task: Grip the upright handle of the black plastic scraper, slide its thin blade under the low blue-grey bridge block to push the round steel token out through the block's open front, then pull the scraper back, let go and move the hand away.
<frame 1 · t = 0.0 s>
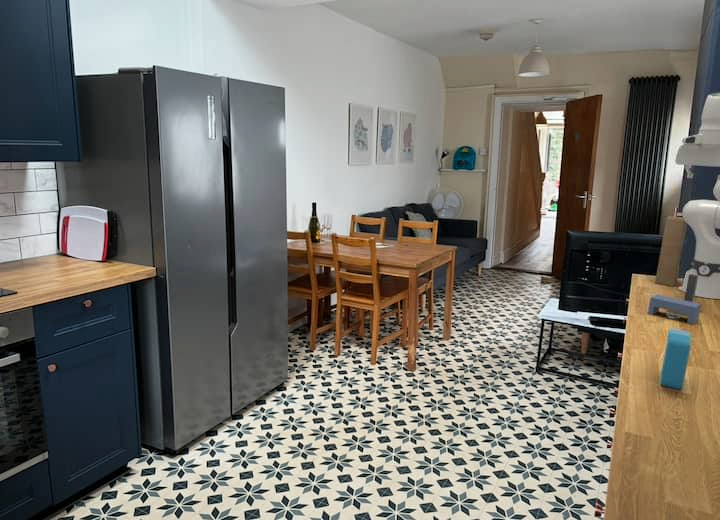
hand: (704, 179, 188), 48 cm above the countertop, tool pointing down, fingers open, 8 cm apart
decorative block: (666, 282, 237), on the countertop
steel token: (672, 318, 184), on the countertop
blue-grey bridge block: (672, 317, 184), on the countertop
scraper: (687, 308, 196), on the countertop
data package: (671, 381, 130), on the countertop
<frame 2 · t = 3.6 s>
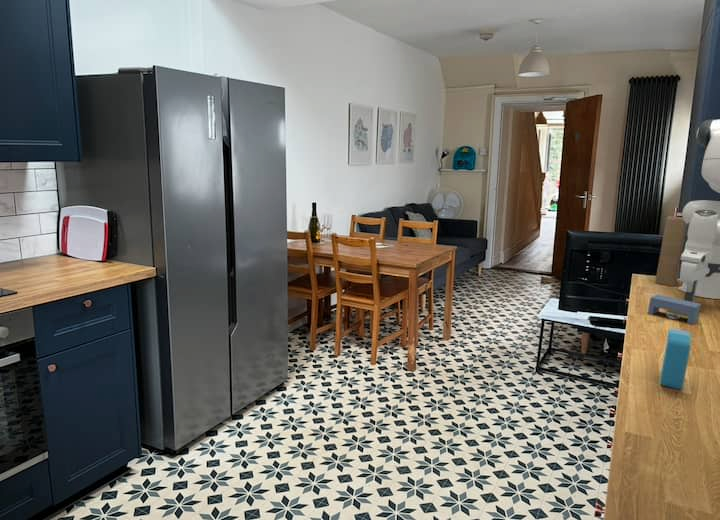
hand: (690, 290, 194), 7 cm above the countertop, tool pointing down, fingers closed on scraper, 2 cm apart
scraper: (687, 308, 196), on the countertop, touching gripper
everything else where it was.
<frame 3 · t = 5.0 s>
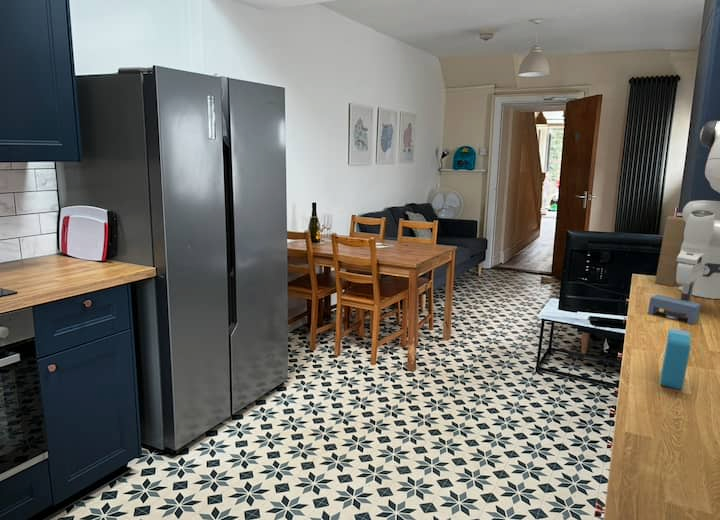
hand: (687, 292, 191), 7 cm above the countertop, tool pointing down, fingers closed on scraper, 2 cm apart
steel token: (671, 317, 183), on the countertop, touching scraper
scraper: (683, 310, 192), on the countertop, touching gripper, steel token
everything else where it was.
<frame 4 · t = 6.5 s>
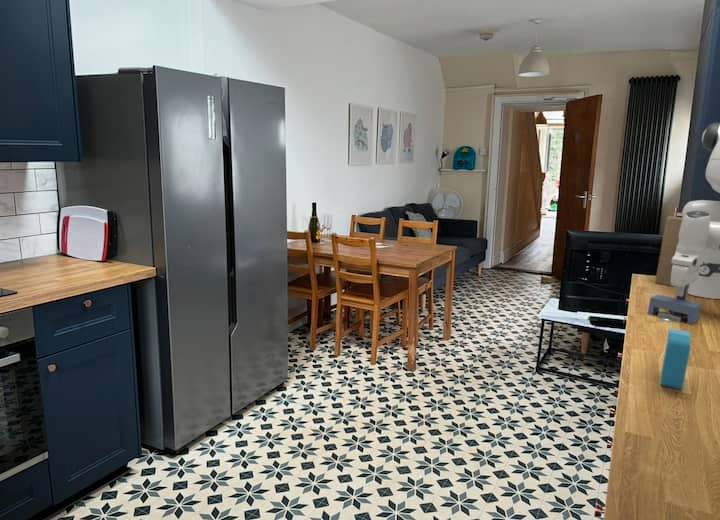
hand: (682, 295, 187), 7 cm above the countertop, tool pointing down, fingers closed on scraper, 2 cm apart
steel token: (666, 321, 180), on the countertop
scraper: (678, 313, 189), on the countertop, touching gripper
everything else where it was.
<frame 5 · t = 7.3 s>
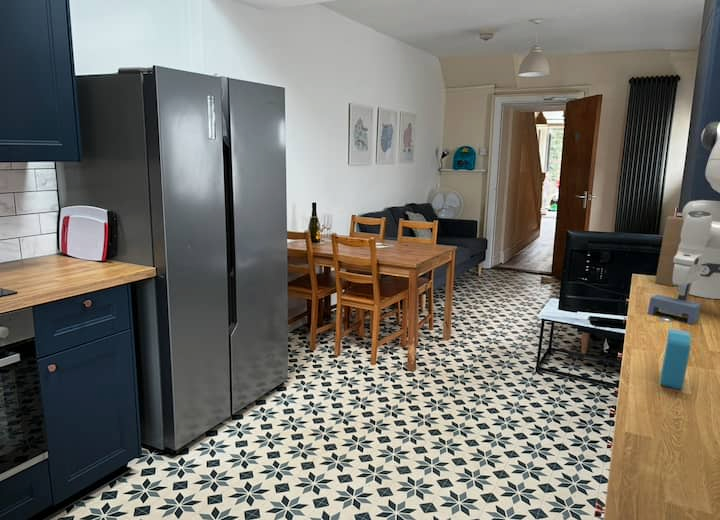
hand: (683, 294, 189), 7 cm above the countertop, tool pointing down, fingers closed on scraper, 3 cm apart
scraper: (679, 312, 190), on the countertop, tilted 7°, touching gripper
everything else where it was.
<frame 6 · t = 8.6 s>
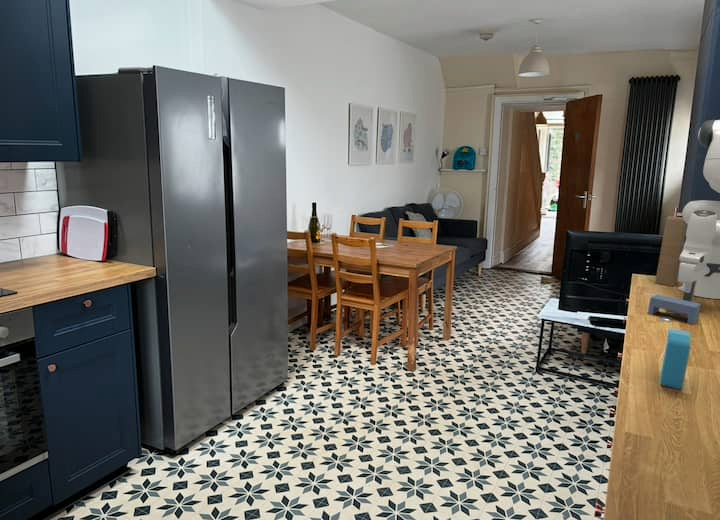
hand: (689, 291, 193), 7 cm above the countertop, tool pointing down, fingers closed on scraper, 2 cm apart
scraper: (685, 309, 194), on the countertop, touching gripper
everything else where it was.
when the fingers open (7 cm above the countertop, at t = 8.7 s): scraper stays where it is, on the countertop.
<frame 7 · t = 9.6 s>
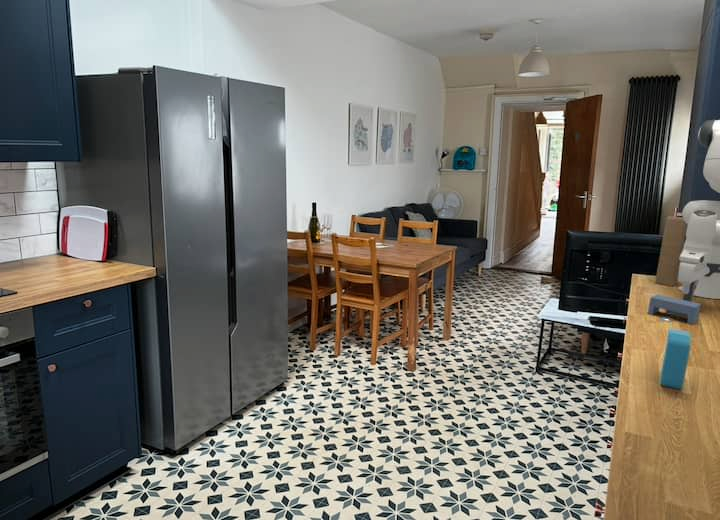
hand: (689, 291, 193), 7 cm above the countertop, tool pointing down, fingers open, 8 cm apart
scraper: (685, 309, 194), on the countertop
everything else where it was.
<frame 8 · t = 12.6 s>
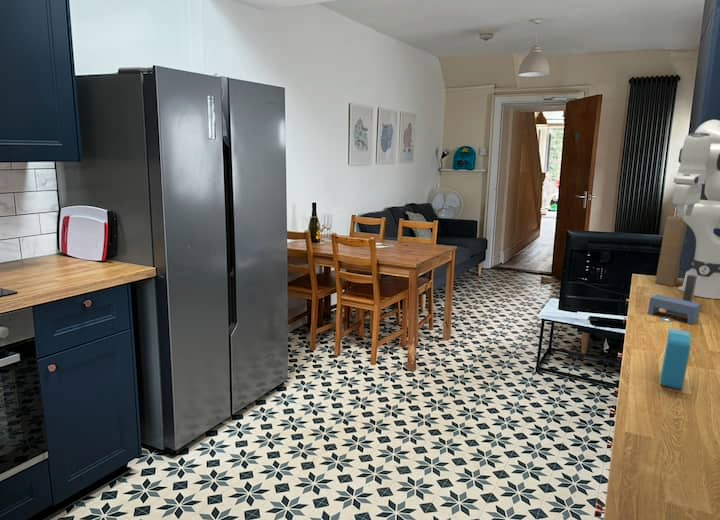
hand: (683, 216, 193), 34 cm above the countertop, tool pointing down, fingers open, 8 cm apart
nothing on the countertop moved.
at the end: steel token inside the target area (5.0 cm from its centre), on the countertop; the gripper is holding nothing; scraper inside the target area (2.7 cm from its centre), on the countertop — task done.
